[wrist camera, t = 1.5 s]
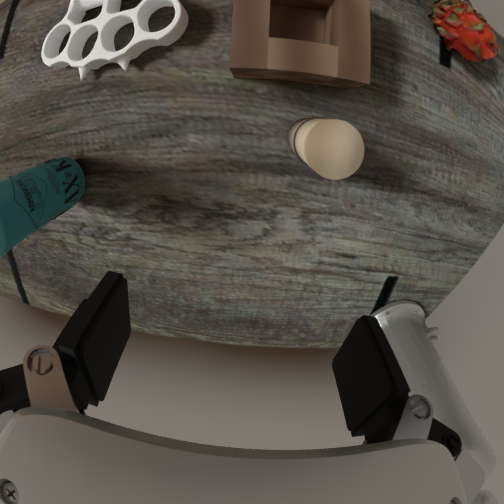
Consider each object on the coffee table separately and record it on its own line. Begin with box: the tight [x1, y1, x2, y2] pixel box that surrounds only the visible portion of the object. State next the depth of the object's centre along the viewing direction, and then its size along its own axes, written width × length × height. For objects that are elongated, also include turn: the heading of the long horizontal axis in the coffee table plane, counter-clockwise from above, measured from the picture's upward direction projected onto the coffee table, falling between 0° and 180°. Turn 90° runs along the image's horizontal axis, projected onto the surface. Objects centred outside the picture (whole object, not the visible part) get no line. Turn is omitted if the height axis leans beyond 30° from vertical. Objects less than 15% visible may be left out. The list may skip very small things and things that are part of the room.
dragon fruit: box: [427, 0, 499, 63], centre depth 15 cm, size 8×8×12 cm
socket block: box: [230, 0, 371, 89], centre depth 18 cm, size 12×12×6 cm
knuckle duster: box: [42, 0, 188, 81], centre depth 18 cm, size 3×18×15 cm
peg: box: [287, 117, 364, 180], centre depth 22 cm, size 5×5×10 cm
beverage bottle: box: [0, 157, 85, 258], centre depth 19 cm, size 6×7×20 cm
